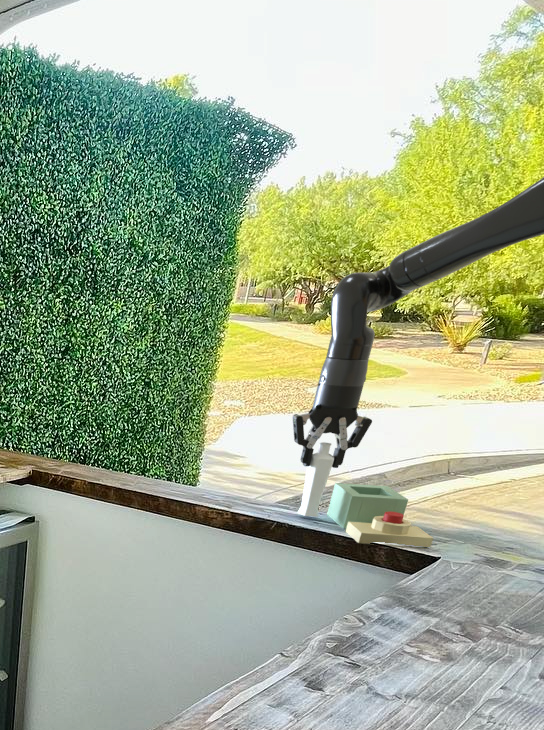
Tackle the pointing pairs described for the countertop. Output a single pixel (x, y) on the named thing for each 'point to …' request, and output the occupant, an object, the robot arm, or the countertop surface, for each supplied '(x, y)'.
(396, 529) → the control box
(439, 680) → the countertop surface
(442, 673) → the countertop surface
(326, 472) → the perfume bottle
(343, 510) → the bottle holder
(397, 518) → the release button
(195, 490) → the countertop surface
